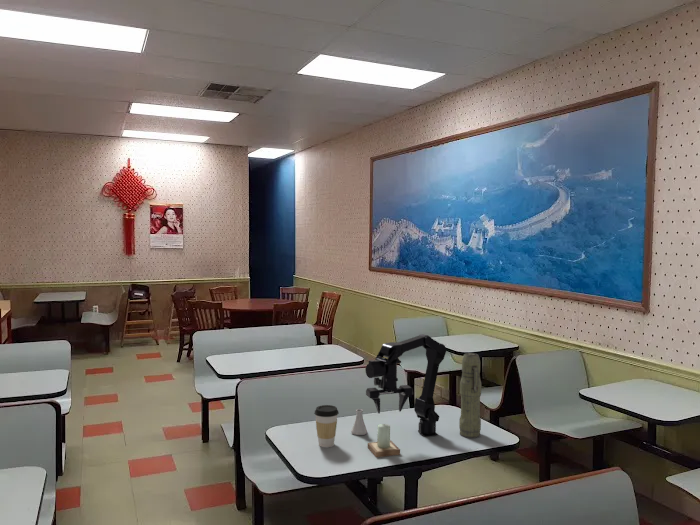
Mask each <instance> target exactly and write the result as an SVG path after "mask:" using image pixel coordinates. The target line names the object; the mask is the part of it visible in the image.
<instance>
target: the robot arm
mask: <svg viewBox="0 0 700 525" xmlns="http://www.w3.org/2000/svg"><path fill="white" fill-rule="evenodd" d="M420 347H422V348H424V349H425V357H426V360H427V364H426V370H425V374H424V379H423V386H422V391H421V395H420V396H419V397H418V398H417V397H416V398H415V400H414V405H413V408H414V409H413V410H414V412H415V414H416V417H417V418H418V419H419V422H418V430H417V432H418V433H419V434H420V435H422V437H431V436H438V433H437V432H436V431H437V427H436V426H437V422H439V421H440V414H438V413H437V412H436V410H435V408H436V404H435V401H434V393H435V388H436V382H437V377H438V373H439V372H438V371H439V368H440V367H439V366H440V364H441V363H442V362H443V361H444V359H445V355H446V353H447V347H446V345H445V344H443V343H440V342H439V341H437V340H435V339H433V338H432V337H431V336H429V335H427V334H425V333H424V334H422V333H421V334H419V335H416V336H412V337H411V338H407V339H405V340H401V341H398V342H397V341H396V342H395V341H394V342H385V343H383V344H382V345H381V348H380V350H379V351H378V353H377V355H376V357H375V359H371V360H368V364H366V366H365V375H366V376H367V377H368V378H369V379H373V386H377V387H378V388H376V387H367V388H366V390H365V396H367V397H368V398H369V399H371V400H372V401H373V402H374V405H375V408H376V411H377V414H380V413H381V397H380V396H381V395H390V394H391V395H392V394H398V397H399V399H398V411H399V413H400V412H401V411H402V410H403V408H404V406H405V403H406V402H407V400H408V399H409V398H410V397H411V396H413V395H414V389H413V388H412V387H411V386H410V385H408V384H405V385H403V384H402V385H399V388H398V386H397V385H398V383H397V382H398V381H399V379H398V377H397V376H398V372H397V371H398V364H401V363H402V360H401V359H399V358H400V357H402V355H403V354H404V353H407V352H409V351H412V350H414V349H417V348H420Z"/></svg>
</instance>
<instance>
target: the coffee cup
mask: <svg viewBox="0 0 700 525" xmlns="http://www.w3.org/2000/svg"><path fill="white" fill-rule="evenodd" d="M313 414H314V415H315V427H316V433H317V434H316V435H317V436H316V437H317V440H318V441H317V442H318V446H320V448H332V447H334V445H335V438H336V434H337V433H336V432H337V425H338V415H339V410H338V407H337V406H335V405H328V404H324V405H319V406H316V408H315V410H314V413H313Z"/></svg>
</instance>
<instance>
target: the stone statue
mask: <svg viewBox="0 0 700 525" xmlns="http://www.w3.org/2000/svg"><path fill="white" fill-rule="evenodd" d="M461 372H462V373H461V378H460V382H459V394H460V402H461V403H460V417H459V422H458V424H459V435H460V436H461V437H464V438H467V439H476V438H477V439H478V438H480V437H481V428H482V418H481V417H480V416H481V414H480V413H481V410H480V408H481V395H482V381H481V374H480V373H481V360H480V356H479V354H477V353H476V352H466V353H464V354H463V356H462V360H461Z"/></svg>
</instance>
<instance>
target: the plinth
mask: <svg viewBox="0 0 700 525" xmlns="http://www.w3.org/2000/svg"><path fill="white" fill-rule="evenodd" d="M367 449H368V450H369V451H370V452H371V454H372V455H373V456H374V458H382V457H389V456H400V455H401V449H400V448H399V447H398V446H397V445H396V444H395V443H394V442H393V441H392V440H391V439H390V447H389V448H379V447H378V446H377V441H374V442H373V441H372V442H367Z"/></svg>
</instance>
